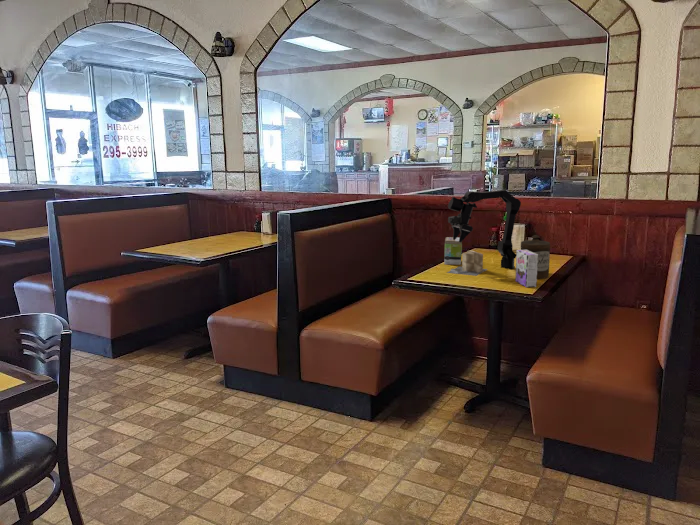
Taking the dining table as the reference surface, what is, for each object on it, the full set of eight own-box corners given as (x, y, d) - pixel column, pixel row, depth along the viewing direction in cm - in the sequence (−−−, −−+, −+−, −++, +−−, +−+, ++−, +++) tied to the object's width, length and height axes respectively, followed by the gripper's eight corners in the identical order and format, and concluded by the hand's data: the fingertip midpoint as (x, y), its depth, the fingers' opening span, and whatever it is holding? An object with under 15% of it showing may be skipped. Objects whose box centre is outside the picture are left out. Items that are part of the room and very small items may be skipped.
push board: (487, 270, 311) (487, 267, 310) (476, 276, 295) (476, 273, 295) (458, 267, 320) (458, 264, 319) (446, 273, 304) (446, 270, 304)
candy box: (514, 281, 284) (516, 249, 281) (525, 280, 284) (527, 249, 281) (525, 287, 270) (526, 254, 267) (537, 287, 271) (538, 254, 268)
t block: (471, 267, 315) (471, 250, 313) (482, 271, 304) (483, 254, 302) (458, 269, 313) (459, 251, 311) (469, 273, 301) (469, 255, 299)
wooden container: (528, 280, 286) (530, 237, 281) (514, 274, 300) (515, 233, 296) (554, 278, 289) (556, 236, 285) (538, 272, 303) (540, 232, 299)
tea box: (461, 265, 325) (461, 240, 322) (444, 265, 327) (444, 240, 324) (461, 260, 339) (462, 236, 336) (444, 260, 341) (445, 236, 338)
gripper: (446, 208, 313) (438, 234, 315) (458, 211, 295) (449, 239, 297) (464, 213, 315) (456, 239, 317) (477, 217, 297) (468, 244, 299)
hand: (456, 240), depth 307 cm, fingers open, 9 cm apart
